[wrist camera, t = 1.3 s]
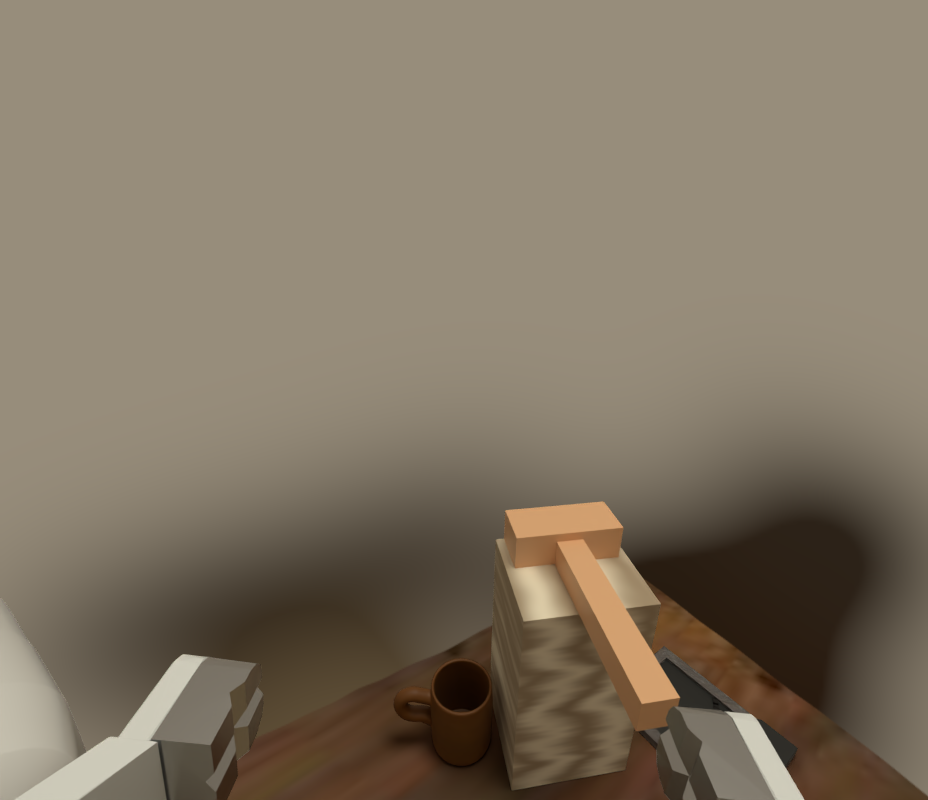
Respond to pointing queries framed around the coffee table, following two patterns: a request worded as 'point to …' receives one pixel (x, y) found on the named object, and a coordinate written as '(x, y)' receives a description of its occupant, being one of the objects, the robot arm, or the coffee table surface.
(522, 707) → the pedestal
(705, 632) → the coffee table surface
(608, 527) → the t bar
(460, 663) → the mug
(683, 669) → the picture frame
